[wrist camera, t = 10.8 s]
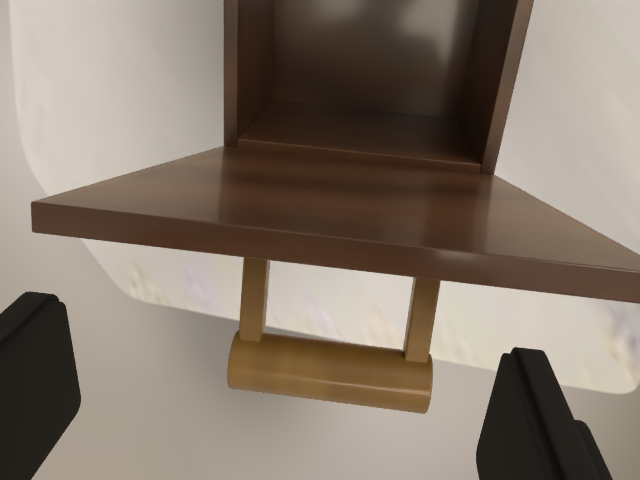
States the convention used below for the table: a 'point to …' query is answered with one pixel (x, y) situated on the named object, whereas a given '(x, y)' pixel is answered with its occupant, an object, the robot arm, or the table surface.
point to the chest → (373, 78)
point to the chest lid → (345, 251)
